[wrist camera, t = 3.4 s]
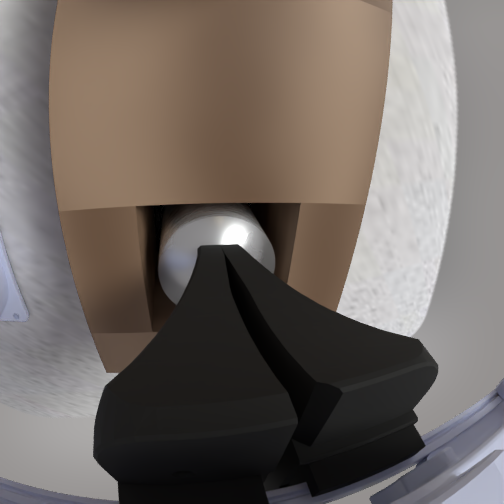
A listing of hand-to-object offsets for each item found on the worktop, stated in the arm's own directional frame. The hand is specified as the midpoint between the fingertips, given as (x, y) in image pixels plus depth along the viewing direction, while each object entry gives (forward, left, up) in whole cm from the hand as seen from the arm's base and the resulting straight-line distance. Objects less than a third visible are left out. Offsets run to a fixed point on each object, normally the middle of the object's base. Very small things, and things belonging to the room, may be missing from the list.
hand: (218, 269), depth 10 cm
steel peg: (0, 0, -5) cm, 5 cm away
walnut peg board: (0, +6, -6) cm, 8 cm away
